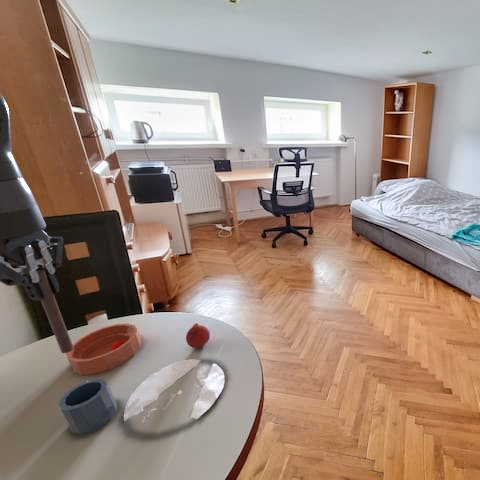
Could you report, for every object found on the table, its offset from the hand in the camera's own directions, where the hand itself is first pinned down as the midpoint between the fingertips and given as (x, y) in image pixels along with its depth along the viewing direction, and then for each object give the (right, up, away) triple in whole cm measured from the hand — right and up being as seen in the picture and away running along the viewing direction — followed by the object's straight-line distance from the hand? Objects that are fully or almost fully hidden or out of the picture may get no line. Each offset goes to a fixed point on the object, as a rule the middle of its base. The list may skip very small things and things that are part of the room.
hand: (46, 295), depth 54 cm
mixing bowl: (-10, -21, +25) cm, 34 cm away
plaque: (+17, -26, +13) cm, 34 cm away
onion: (+14, -20, +28) cm, 37 cm away
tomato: (-8, -19, +26) cm, 33 cm away
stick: (-1, -12, +5) cm, 13 cm away
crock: (+2, -28, +8) cm, 29 cm away
